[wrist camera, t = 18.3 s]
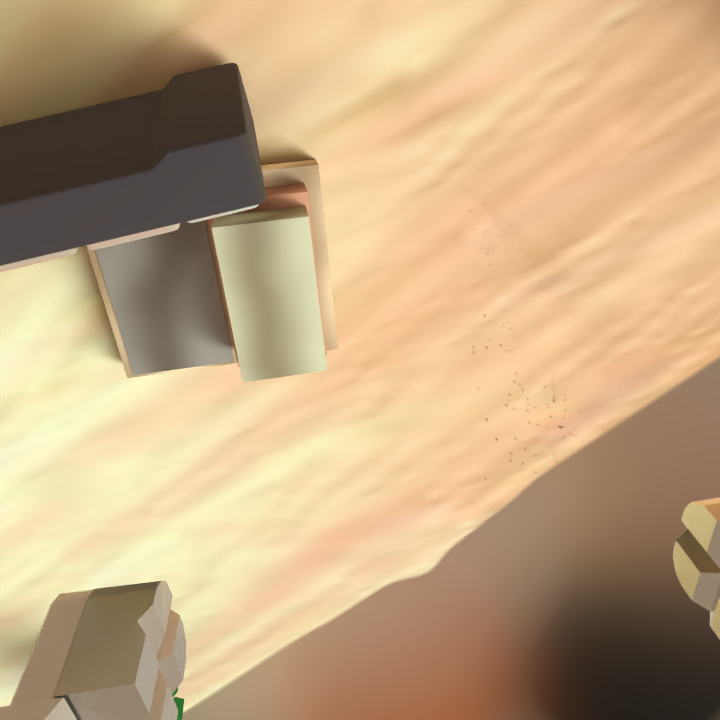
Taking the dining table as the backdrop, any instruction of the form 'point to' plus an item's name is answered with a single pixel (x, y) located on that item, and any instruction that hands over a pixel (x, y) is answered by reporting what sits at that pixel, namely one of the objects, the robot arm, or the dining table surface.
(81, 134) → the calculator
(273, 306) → the sticky note pad set
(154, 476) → the dining table surface
